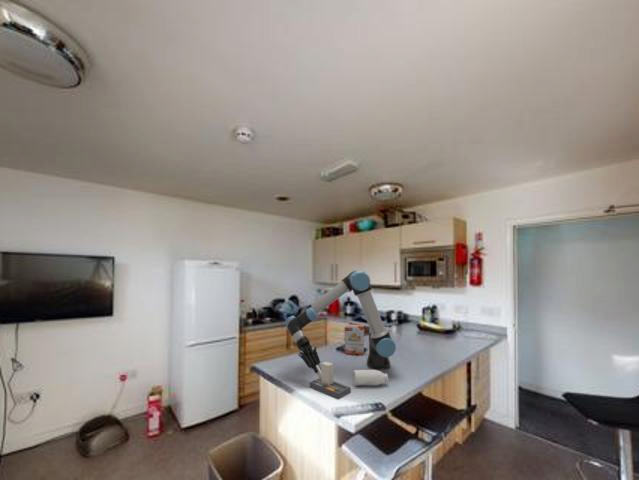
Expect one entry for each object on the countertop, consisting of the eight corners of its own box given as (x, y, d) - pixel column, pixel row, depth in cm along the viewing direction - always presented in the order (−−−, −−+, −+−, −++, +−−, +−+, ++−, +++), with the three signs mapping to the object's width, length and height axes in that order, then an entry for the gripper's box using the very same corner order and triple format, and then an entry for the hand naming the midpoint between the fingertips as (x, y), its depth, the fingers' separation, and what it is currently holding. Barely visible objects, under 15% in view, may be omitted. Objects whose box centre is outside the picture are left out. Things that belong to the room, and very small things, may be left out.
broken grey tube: (389, 388, 147) (389, 372, 147) (354, 388, 146) (354, 372, 147) (386, 382, 155) (385, 367, 155) (352, 382, 154) (352, 367, 155)
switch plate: (309, 387, 148) (309, 380, 148) (322, 381, 155) (322, 375, 156) (338, 399, 134) (338, 391, 135) (350, 392, 142) (350, 385, 142)
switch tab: (321, 383, 147) (321, 363, 148) (326, 380, 149) (326, 361, 150) (328, 385, 143) (328, 365, 144) (333, 383, 146) (333, 363, 147)
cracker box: (345, 354, 204) (344, 325, 207) (345, 352, 210) (345, 324, 213) (364, 355, 202) (363, 326, 204) (364, 352, 208) (363, 324, 210)
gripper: (306, 341, 168) (326, 377, 155) (289, 346, 159) (309, 384, 146) (312, 334, 165) (333, 370, 152) (295, 338, 156) (316, 377, 142)
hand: (321, 377), depth 149 cm, fingers closed
